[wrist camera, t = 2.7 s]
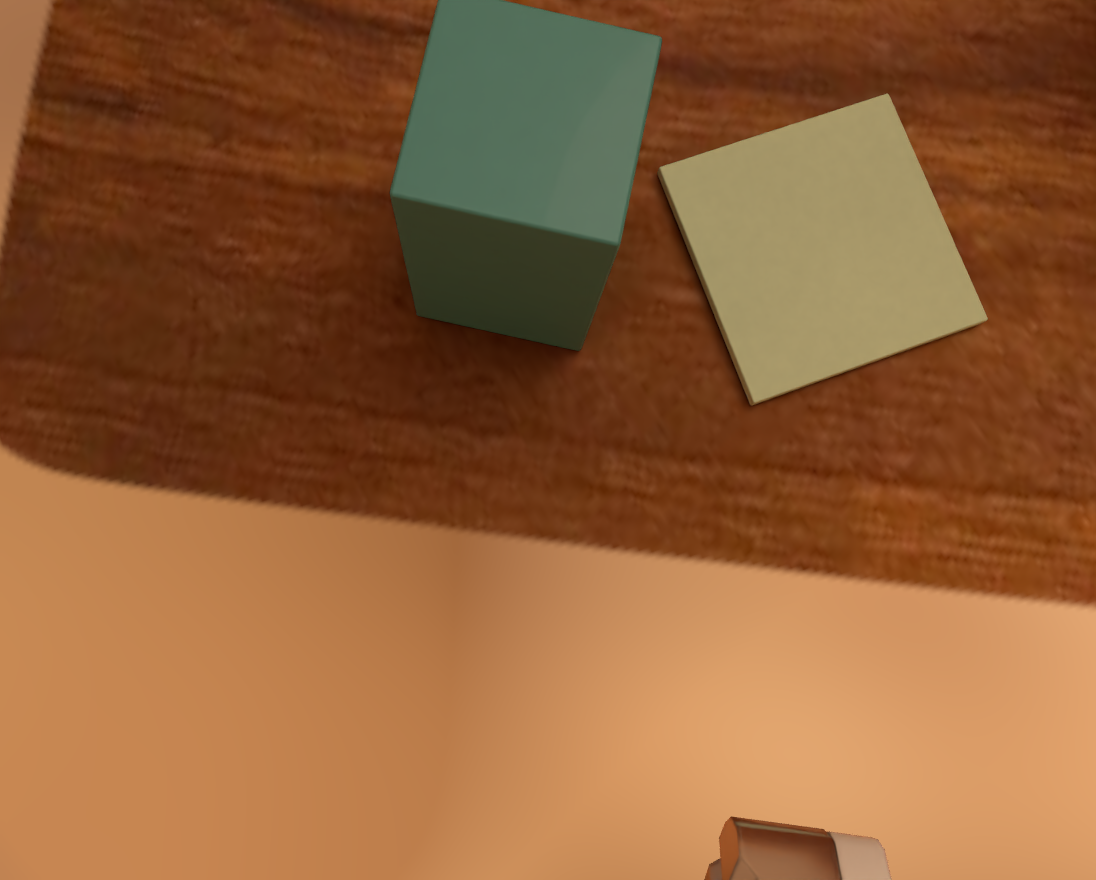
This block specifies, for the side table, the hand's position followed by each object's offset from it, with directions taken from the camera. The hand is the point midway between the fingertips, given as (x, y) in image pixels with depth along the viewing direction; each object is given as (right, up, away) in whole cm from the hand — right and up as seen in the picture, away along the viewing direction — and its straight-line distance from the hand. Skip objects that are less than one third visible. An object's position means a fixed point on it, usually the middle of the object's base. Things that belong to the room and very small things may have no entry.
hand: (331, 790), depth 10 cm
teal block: (+1, +9, +17) cm, 19 cm away
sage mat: (+10, +9, +18) cm, 22 cm away
